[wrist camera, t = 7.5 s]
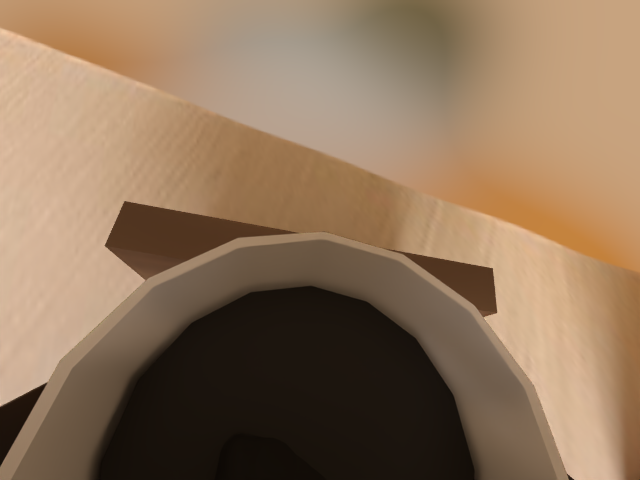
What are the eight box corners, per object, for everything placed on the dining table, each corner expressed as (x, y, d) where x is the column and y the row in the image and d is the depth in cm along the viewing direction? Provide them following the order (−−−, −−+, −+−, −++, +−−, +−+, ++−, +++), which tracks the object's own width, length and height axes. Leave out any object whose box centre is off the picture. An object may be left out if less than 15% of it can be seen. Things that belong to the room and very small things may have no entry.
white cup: (363, 525, 12) (690, 998, 3) (171, 525, 11) (-286, 1202, 2) (361, 335, 14) (519, 252, 5) (208, 324, 14) (95, 207, 5)
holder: (394, 642, 13) (563, 987, 5) (76, 617, 12) (-232, 999, 4) (402, 313, 18) (492, 268, 11) (184, 277, 17) (124, 201, 10)
